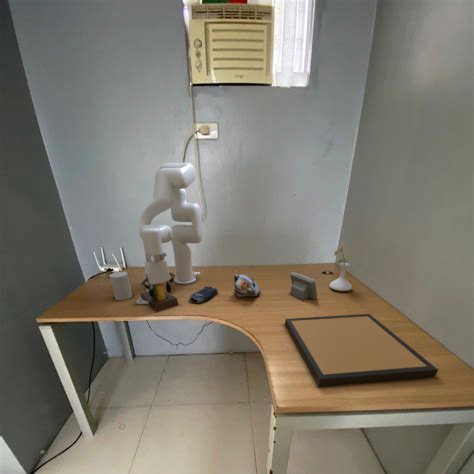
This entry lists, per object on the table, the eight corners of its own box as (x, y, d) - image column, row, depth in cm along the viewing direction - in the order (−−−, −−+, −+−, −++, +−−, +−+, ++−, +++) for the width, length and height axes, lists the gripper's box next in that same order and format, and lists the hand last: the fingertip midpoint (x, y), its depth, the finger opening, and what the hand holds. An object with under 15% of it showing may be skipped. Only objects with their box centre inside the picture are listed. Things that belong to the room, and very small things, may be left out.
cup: (126, 300, 126) (120, 277, 120) (111, 299, 127) (105, 276, 122) (135, 294, 133) (130, 272, 127) (121, 293, 134) (116, 271, 129)
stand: (161, 293, 133) (160, 287, 132) (178, 304, 121) (177, 298, 119) (141, 299, 127) (139, 292, 126) (156, 311, 115) (155, 304, 113)
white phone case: (151, 304, 121) (161, 292, 134) (150, 301, 120) (160, 290, 134) (136, 304, 122) (147, 292, 135) (135, 301, 121) (147, 289, 134)
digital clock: (318, 300, 124) (321, 279, 119) (302, 302, 121) (305, 281, 116) (300, 288, 137) (302, 269, 132) (285, 291, 135) (287, 271, 130)
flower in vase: (339, 284, 143) (348, 238, 131) (356, 290, 134) (366, 242, 122) (321, 288, 138) (329, 241, 126) (337, 295, 129) (347, 245, 117)
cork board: (318, 386, 71) (434, 377, 74) (320, 379, 70) (438, 369, 73) (285, 324, 103) (367, 319, 106) (285, 318, 101) (369, 313, 104)
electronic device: (202, 293, 136) (185, 300, 123) (204, 283, 134) (186, 289, 121) (217, 298, 133) (201, 306, 120) (219, 288, 131) (203, 295, 118)
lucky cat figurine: (265, 294, 130) (263, 276, 119) (247, 308, 127) (243, 290, 116) (247, 279, 138) (243, 260, 127) (230, 291, 135) (224, 273, 124)
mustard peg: (164, 302, 124) (161, 282, 119) (168, 304, 121) (165, 285, 116) (156, 304, 122) (153, 284, 117) (160, 307, 119) (157, 287, 114)
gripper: (169, 252, 118) (174, 288, 126) (132, 259, 108) (139, 297, 117) (177, 255, 113) (181, 292, 121) (138, 263, 103) (146, 302, 111)
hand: (161, 294), depth 119 cm, fingers open, 7 cm apart
